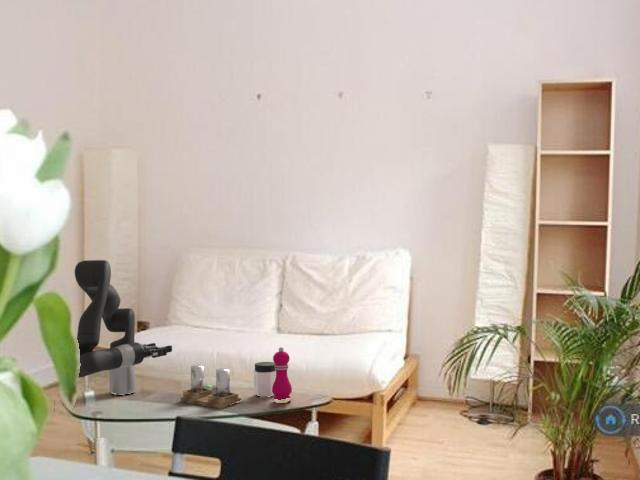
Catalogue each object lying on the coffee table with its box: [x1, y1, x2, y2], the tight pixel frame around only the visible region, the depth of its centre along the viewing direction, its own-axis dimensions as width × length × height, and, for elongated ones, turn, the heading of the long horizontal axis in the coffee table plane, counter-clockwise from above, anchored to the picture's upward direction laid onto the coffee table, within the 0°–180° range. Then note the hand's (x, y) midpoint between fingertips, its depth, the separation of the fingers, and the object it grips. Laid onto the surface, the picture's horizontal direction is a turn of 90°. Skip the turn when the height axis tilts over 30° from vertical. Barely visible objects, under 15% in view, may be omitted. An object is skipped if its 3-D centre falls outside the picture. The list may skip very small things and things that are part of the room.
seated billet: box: [215, 367, 231, 397], centre depth 259 cm, size 5×5×11 cm
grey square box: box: [206, 384, 216, 394], centre depth 275 cm, size 6×6×3 cm
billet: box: [190, 364, 205, 393], centre depth 267 cm, size 5×5×11 cm
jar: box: [253, 361, 276, 397], centre depth 272 cm, size 9×8×12 cm
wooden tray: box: [180, 388, 242, 410], centre depth 263 cm, size 21×11×4 cm, turn 54°
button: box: [204, 384, 212, 389], centre depth 275 cm, size 3×3×3 cm
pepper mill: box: [272, 346, 293, 400], centre depth 261 cm, size 7×7×20 cm
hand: (163, 347), depth 255 cm, fingers open, 8 cm apart
